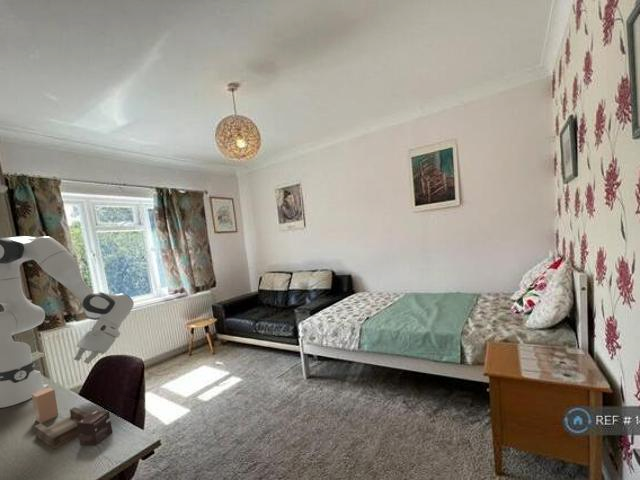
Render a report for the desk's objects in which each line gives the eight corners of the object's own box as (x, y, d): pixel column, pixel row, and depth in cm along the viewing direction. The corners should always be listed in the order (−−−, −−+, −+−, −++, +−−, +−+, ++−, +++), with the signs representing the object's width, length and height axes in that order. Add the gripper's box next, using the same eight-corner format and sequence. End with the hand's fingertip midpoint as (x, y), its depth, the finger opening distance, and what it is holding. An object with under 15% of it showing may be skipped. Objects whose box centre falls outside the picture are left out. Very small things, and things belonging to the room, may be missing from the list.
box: (95, 446, 89) (91, 423, 89) (79, 445, 90) (76, 423, 90) (113, 432, 95) (109, 410, 95) (98, 432, 96) (94, 410, 96)
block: (35, 420, 108) (31, 394, 108) (53, 412, 112) (49, 387, 112) (40, 423, 106) (36, 396, 105) (58, 415, 110) (54, 389, 109)
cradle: (36, 436, 98) (34, 426, 98) (76, 416, 108) (74, 406, 107) (54, 449, 90) (53, 438, 90) (96, 426, 99) (94, 416, 99)
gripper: (87, 324, 130) (62, 355, 122) (109, 327, 120) (84, 361, 112) (100, 331, 134) (77, 361, 126) (122, 334, 124) (99, 367, 116)
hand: (80, 361), depth 119 cm, fingers open, 8 cm apart
